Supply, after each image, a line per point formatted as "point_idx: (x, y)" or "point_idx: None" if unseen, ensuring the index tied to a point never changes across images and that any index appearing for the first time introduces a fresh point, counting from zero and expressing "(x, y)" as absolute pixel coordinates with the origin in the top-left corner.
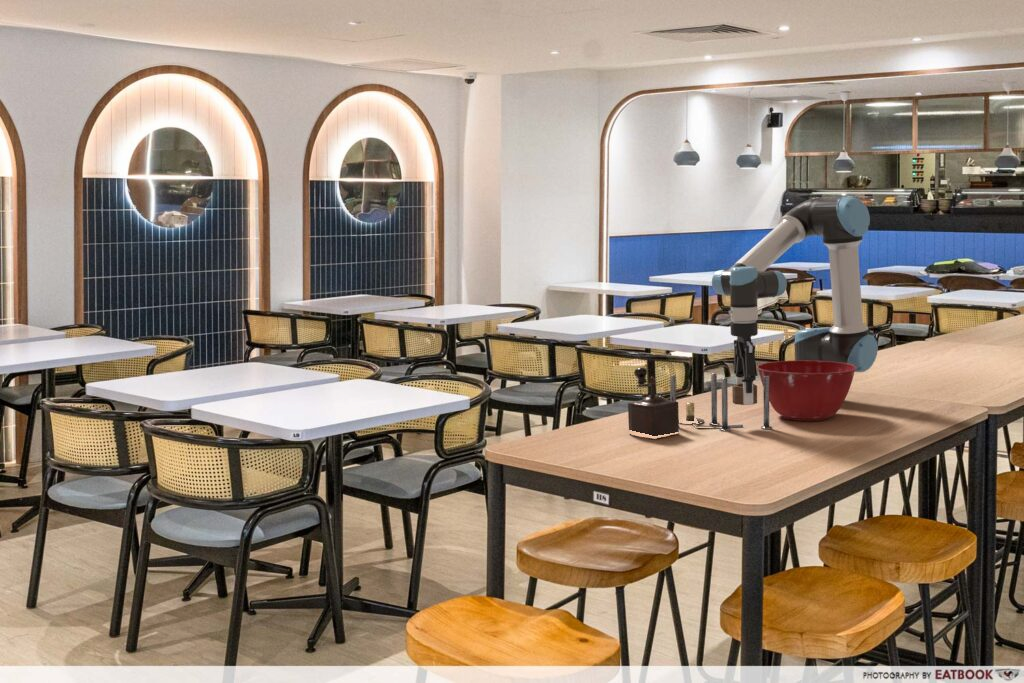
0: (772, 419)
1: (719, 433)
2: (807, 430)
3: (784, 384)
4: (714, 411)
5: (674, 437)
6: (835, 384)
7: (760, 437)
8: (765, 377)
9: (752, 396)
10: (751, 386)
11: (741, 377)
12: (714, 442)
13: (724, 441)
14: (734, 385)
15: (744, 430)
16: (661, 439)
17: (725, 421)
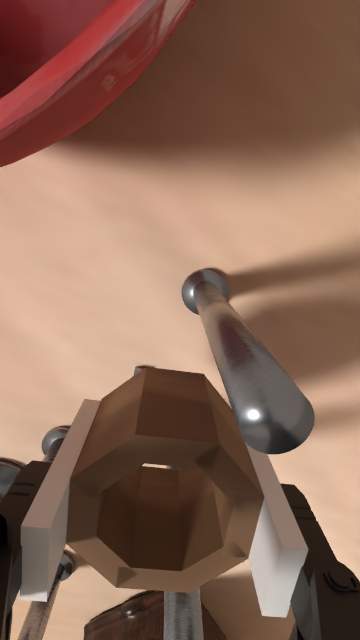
0: (14, 174)
1: None
2: (316, 135)
3: (108, 88)
4: None
5: (221, 600)
6: None
7: (344, 379)
8: (298, 436)
9: (263, 453)
10: (321, 535)
11: (34, 563)
12: (339, 530)
13: (341, 501)
14: (132, 579)
15: None
16: (232, 632)
17: None
